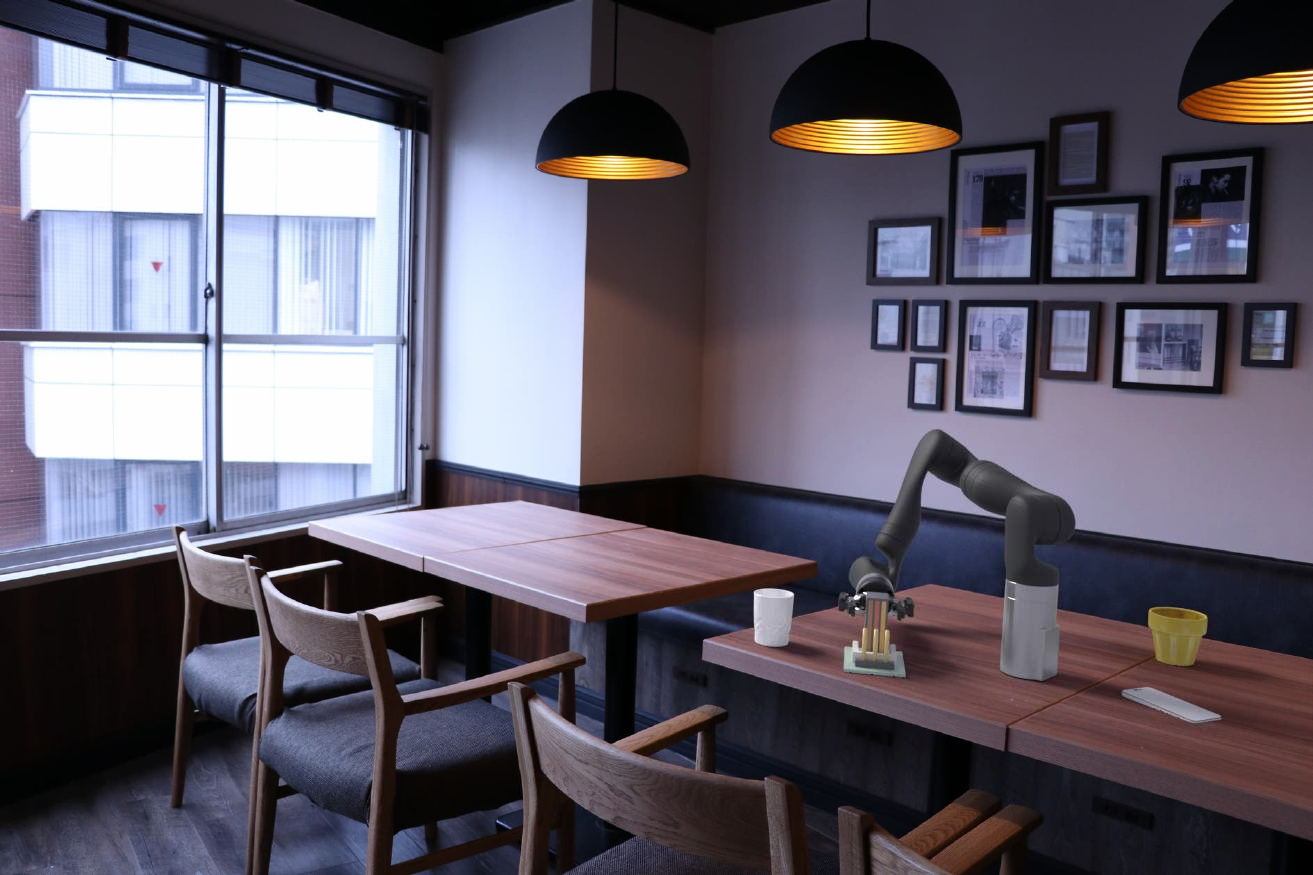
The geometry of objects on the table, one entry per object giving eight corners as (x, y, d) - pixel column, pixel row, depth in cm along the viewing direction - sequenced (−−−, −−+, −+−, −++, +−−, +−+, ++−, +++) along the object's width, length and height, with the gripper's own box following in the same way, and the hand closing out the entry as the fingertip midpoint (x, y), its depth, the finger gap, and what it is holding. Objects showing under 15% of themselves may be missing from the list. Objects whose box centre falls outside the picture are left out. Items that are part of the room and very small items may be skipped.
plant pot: (1143, 663, 202) (1147, 614, 201) (1146, 650, 211) (1150, 603, 210) (1203, 672, 197) (1208, 622, 196) (1203, 659, 206) (1207, 611, 206)
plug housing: (863, 653, 199) (866, 591, 198) (884, 654, 198) (887, 593, 197) (863, 660, 194) (866, 597, 193) (885, 662, 193) (888, 599, 193)
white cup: (778, 650, 201) (781, 599, 200) (744, 642, 206) (746, 592, 205) (798, 642, 207) (801, 593, 206) (764, 634, 212) (767, 586, 211)
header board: (844, 649, 203) (846, 611, 203) (901, 654, 201) (904, 616, 201) (843, 671, 189) (845, 630, 188) (905, 677, 187) (908, 636, 186)
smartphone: (1194, 721, 168) (1119, 690, 182) (1193, 728, 168) (1118, 696, 182) (1225, 716, 171) (1148, 686, 185) (1224, 723, 171) (1148, 692, 185)
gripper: (840, 573, 211) (839, 590, 195) (912, 578, 208) (916, 596, 192) (838, 609, 211) (836, 629, 195) (910, 615, 209) (914, 636, 193)
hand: (876, 613), depth 194 cm, fingers open, 8 cm apart
